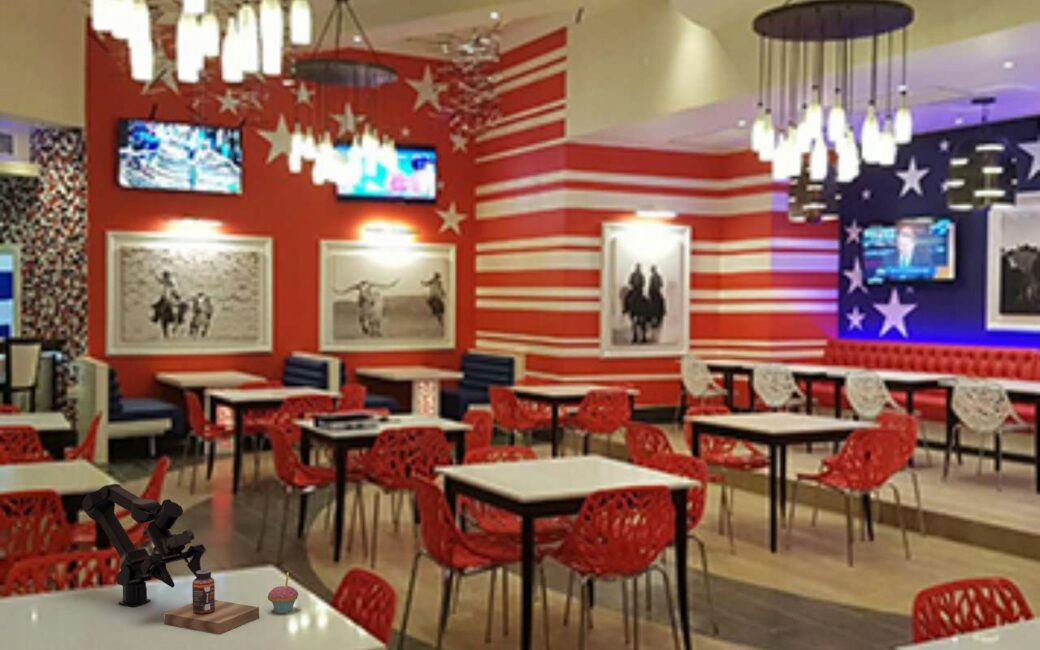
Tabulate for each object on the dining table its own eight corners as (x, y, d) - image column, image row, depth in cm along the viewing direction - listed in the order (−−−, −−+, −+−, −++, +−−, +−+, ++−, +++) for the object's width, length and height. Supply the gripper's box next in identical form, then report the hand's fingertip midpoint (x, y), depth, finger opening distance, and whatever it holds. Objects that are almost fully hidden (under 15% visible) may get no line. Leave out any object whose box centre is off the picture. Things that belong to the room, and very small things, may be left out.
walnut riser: (164, 624, 298) (164, 613, 298) (205, 608, 312) (205, 598, 312) (219, 634, 289) (219, 623, 289) (259, 617, 303) (259, 607, 303)
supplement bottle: (214, 614, 297) (213, 573, 297) (191, 615, 296) (191, 574, 295) (215, 607, 303) (215, 568, 302) (193, 609, 302) (193, 569, 301)
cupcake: (304, 608, 311) (303, 567, 311) (286, 617, 304) (285, 575, 303) (280, 605, 315) (279, 564, 315) (261, 613, 307) (261, 571, 307)
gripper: (146, 527, 298) (171, 573, 292) (201, 516, 313) (226, 559, 307) (129, 551, 303) (154, 597, 297) (185, 539, 318) (209, 581, 312)
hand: (187, 582), depth 303 cm, fingers open, 9 cm apart
